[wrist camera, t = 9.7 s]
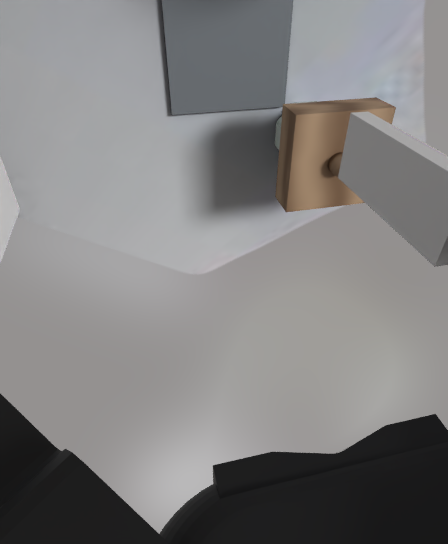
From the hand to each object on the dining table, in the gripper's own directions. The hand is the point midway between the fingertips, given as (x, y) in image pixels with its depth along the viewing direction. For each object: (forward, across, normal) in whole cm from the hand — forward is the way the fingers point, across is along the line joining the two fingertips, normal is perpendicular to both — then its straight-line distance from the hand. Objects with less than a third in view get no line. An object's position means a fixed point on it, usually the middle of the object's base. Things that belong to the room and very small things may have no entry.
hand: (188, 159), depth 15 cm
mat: (+34, +10, -1) cm, 36 cm away
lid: (+27, +20, -11) cm, 35 cm away
